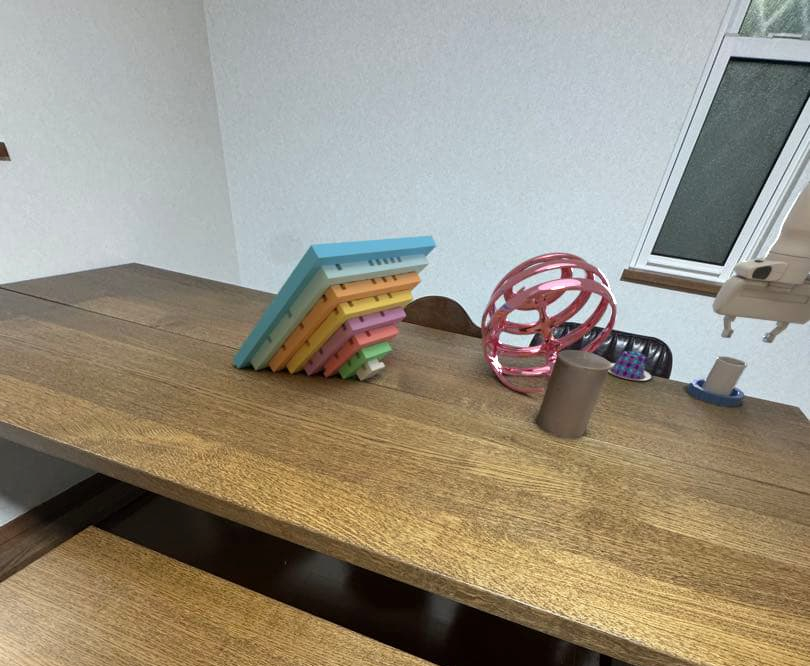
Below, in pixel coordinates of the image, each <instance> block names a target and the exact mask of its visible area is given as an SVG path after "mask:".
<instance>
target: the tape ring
mask: <svg viewBox="0 0 810 666" xmlns="http://www.w3.org/2000/svg"><path fill="white" fill-rule="evenodd" d="M705 379H706V378H704V377H703V378H702V377H701V378H699V377H698V378H693V379H691V380H690V382H689V383H688V385H687V387H686V392H687V393H688V394H689V395H690V396H691V397H693V398H696V399H698V400H700V401H703V402H705V403H709V404H711V405H712V404H713V405H715V406H722V407H730V408H731V407H737V406H739V405H740V404H741V403H742V402H743V399H744V398H745V392H743V391H742V389H740V388H738V387H736V386H735V388H734V389H733V391H732V393H731V394H730V396H725V395H720V394H716V393H712V392H710V391H707V390H705V389H703V388H701V387H702V385H703V383H704V381H705Z"/></svg>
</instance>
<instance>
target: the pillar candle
mask: <svg viewBox="0 0 810 666" xmlns="http://www.w3.org/2000/svg"><path fill="white" fill-rule="evenodd" d="M611 363H612V362H611V361H609V360H607V359H606V358H604V357H602V356H600V355H598V354H595V353H588V352H587V351H585V352H584V351H580V350H576V349H565V350H560V351H559V352H558V353H557V358H556V361H555V364H554V367H553V370H552V374H551V377H549V380H548V383H547V386H546V389H545V392H544V396H543V399H542V401H541V404H540V408H539V410H538V415H537V417H536V419H535V423H536V425H537V426H538V427H539V428H540V429H541V430H542V431H544V432H546V433H548V434H551V435H554V436H557V437H560V438H569V439H570V438H571V439H572V438H579V437H581V436H583V435H584V434H585V432H586V429H587V427H588V424H589V422H590V419H591V417H592V414H593V412H594V410H595V407H596V403H597V401H598V399H599V396H600V394H601V392H602V389H603V386H604V384H605V381H606V378H607V377H608V374H609V372H608V371H610V369H611V367H610V366H611Z"/></svg>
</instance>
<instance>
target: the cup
mask: <svg viewBox="0 0 810 666" xmlns="http://www.w3.org/2000/svg"><path fill="white" fill-rule="evenodd" d="M747 367H748V363H747V362H745V361H743V360H741V359H739V358H735V357H730V356H725V355H723V356H721V355H720V356H717V357H716V359H715V360H714V362H713V364H712V365H711V367H710V370H709V372H708V374H707V376H706V377H705V378H704V379H705V381H704V383H703V385H702V387H701V388H703V389H705V390H707V391H710V392H712V393H716V394H720V395H725V396H730V394H731V393H732V391H733V389H734V388H735V387H736V386H737V385H738V383H739V381H740V379H741V377H742V376H743V374H744V372H745V370H746V369H747Z"/></svg>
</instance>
